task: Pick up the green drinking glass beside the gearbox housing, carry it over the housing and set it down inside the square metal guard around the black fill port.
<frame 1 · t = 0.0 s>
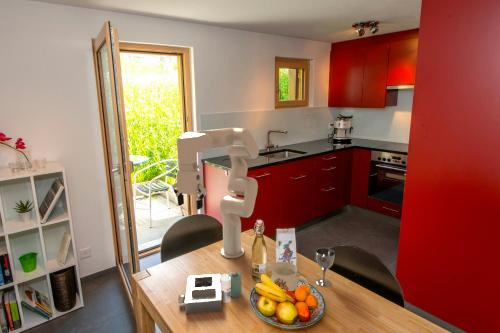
hand: (190, 206, 129), 37 cm above the table, tool pointing down, fingers open, 9 cm apart
pitcher: (286, 297, 130), on the table
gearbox: (204, 297, 130), on the table
wine glass: (323, 282, 139), on the table
green drinking glass: (235, 293, 132), on the table
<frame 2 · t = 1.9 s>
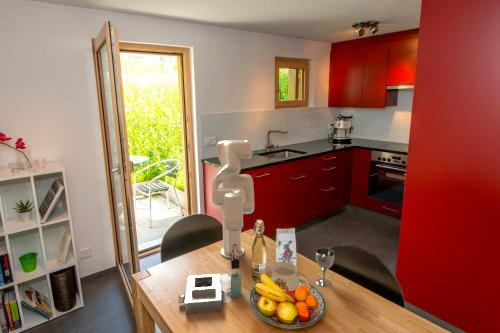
hand: (234, 262, 128), 15 cm above the table, tool pointing down, fingers open, 9 cm apart
nothing on the table moved.
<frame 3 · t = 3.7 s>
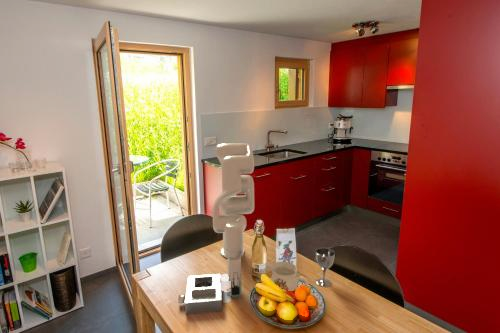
hand: (235, 289, 132), 2 cm above the table, tool pointing down, fingers closed on green drinking glass, 5 cm apart
green drinking glass: (235, 293, 132), on the table, touching gripper
everything else where it was.
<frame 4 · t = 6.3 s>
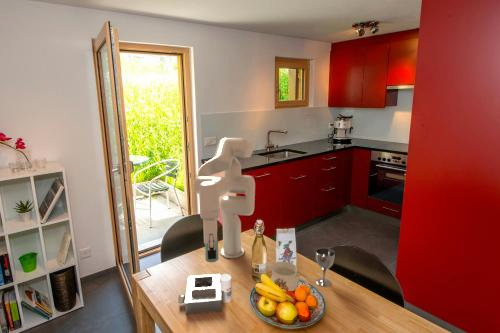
hand: (211, 254, 126), 20 cm above the table, tool pointing down, fingers closed on green drinking glass, 5 cm apart
green drinking glass: (212, 259, 126), point 18 cm above the table, touching gripper
everything else where it was.
when the fingers open (9 cm above the table, at t = 8.9 s): green drinking glass drops 2 cm, resting on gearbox.
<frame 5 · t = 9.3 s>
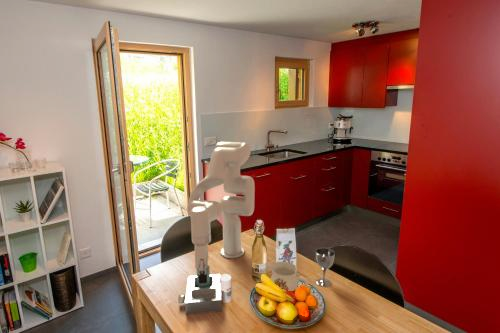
hand: (203, 275, 127), 10 cm above the table, tool pointing down, fingers open, 9 cm apart
green drinking glass: (203, 287, 128), point 5 cm above the table, touching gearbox
everything else where it was.
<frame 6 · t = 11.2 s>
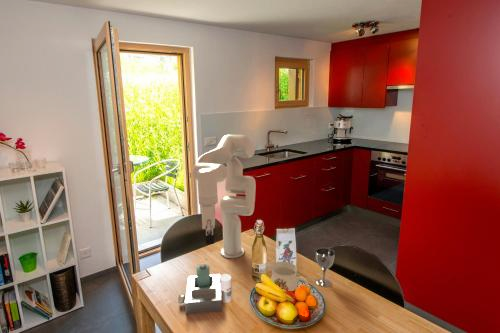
hand: (210, 237, 129), 25 cm above the table, tool pointing down, fingers open, 9 cm apart
nothing on the table moved.
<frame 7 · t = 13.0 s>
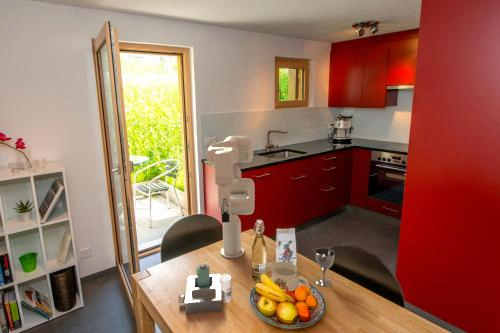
hand: (225, 217, 135), 30 cm above the table, tool pointing down, fingers open, 9 cm apart
nothing on the table moved.
at the end: green drinking glass 0.2 cm off-centre on the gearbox, point 5.2 cm above the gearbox's base; green drinking glass tilted 0°; the gripper is holding nothing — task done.
